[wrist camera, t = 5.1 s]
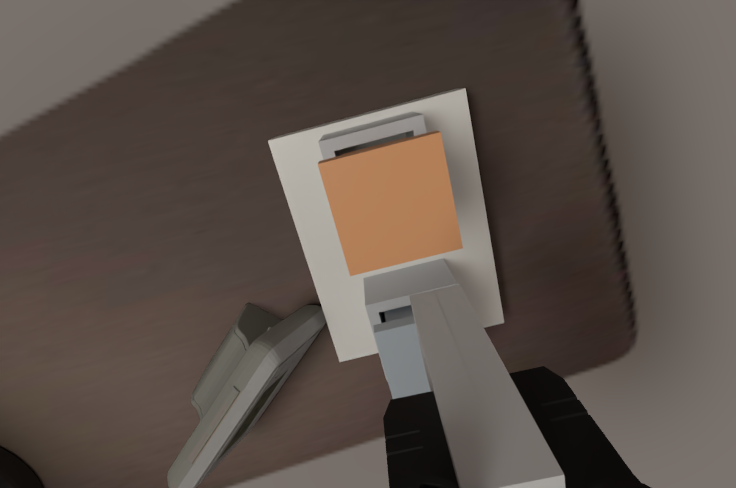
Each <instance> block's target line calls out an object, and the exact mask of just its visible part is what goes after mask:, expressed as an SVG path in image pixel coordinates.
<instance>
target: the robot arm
mask: <svg viewBox="0 0 736 488" xmlns="http://www.w3.org/2000/svg"><path fill="white" fill-rule="evenodd" d="M409 297H410V302H411V307H412V311H413V316H414V320H415V325H416V329H417V334H418V339H419V343H420V348H421V352H422V357H423V362H424V366H425V371H426V375H427V379H428V383H429V387H430V392H425V393H420V394H416V395H411V396H406V397H401V398H396V399H392V400H390V403H389V405H388V408H387V410H386V412H385V415H384V417H383V420H384V431H385V439H386V441H385V442H386V453H387V464H388V476H389V486H390V488H650V487H649V486H647V485H645V484H642V483H641V482H640V481H639V480H638V479H637V478H636V477H635V476H634V475H633V474H632V472H631V470H630V469H629V468H628V466H627V465H626V464H625V462H624V461H623V460H622V458H621V457H620V455H619V454H618V453H617V451H616V450H615V449H614V447H613V446H612V444H611V443H610V442H609V440H608V439H607V438H606V437H605V435H604V434H603V432H602V431H601V429H600V428H599V427H598V425H597V424H596V423H595V421H594V420H593V419H592V417H591V416H590V415H588V413H587V410H586V409H585V408H584V406H583V405H582V403H581V402H580V401H579V400H577V397H576V395H575V394H574V393H573V391H572V390H571V388H570V387H569V386H568V384H567V383H566V382H565V380H564V379H563V378H561V377H560V376H558V375H557V374H555V373H553V372H552V371H550V370H549V369H547V368H546V367H544V366H543V367H538V368H533V369H529V370H524V371H519V372H514V373H508V371H507V370H506V368H505V366H504V364H503V362H502V360H501V359H500V357H499V355H498V353H497V351H496V349H495V348H494V346H493V344H492V342H491V340H490V339H489V337H488V335H487V333H486V331H485V329H484V328H483V326H482V324H481V322H480V320H479V319H478V317H477V315H476V313H475V311H474V309H473V308H472V306H471V304H470V302H469V300H468V298H467V297H466V295H465V293H464V291H463V289H462V288H461V286H460V284H459V285H454V286H450V287H445V288H441V289H436V290H432V291H427V292H422V293H418V294H413V295H409ZM0 488H42V486H41V484H40V482H39V480H38V479H37V477H36V476H35V474H34V473H33V472H32V471H31V470H30V469H29V467H28V466H26V465H25V464H24V463H23V462H22V461H21V460H19V459H18V458H17V457H15V456H14V455H12V454H11V453H9V452H7V451H5V450H4V449H2V448H0Z"/></svg>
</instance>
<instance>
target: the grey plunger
mask: <svg viewBox="0 0 736 488" xmlns="http://www.w3.org/2000/svg"><path fill="white" fill-rule="evenodd" d="M384 312H385V319H386V322H385V323H381V324H376V325H373V326H374V334H375V338H376V341H377V345H378V348H379V352H380V355H381V359H382V362H383V366H384V369H385V373H386V376H387V380H388V383H389V387H390V390H391V394H392V397H393V399H396V398H401V397H406V396H411V395H416V394H420V393H425V392H430V387H429V383H428V379H427V375H426V371H425V366H424V362H423V357H422V352H421V348H420V343H419V339H418V334H417V329H416V325H415V320H414V316H413V311H412V307H411V305H408V306H404V307H400V308H396V309H392V310H387V311H384Z"/></svg>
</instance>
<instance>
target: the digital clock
mask: <svg viewBox="0 0 736 488" xmlns="http://www.w3.org/2000/svg"><path fill="white" fill-rule="evenodd" d="M325 323H326V318H325V315H324V312H323V309H322V307H320V306H317V305H306V306H303V307H302V308H300V309H299V310H297V311H296V312H294V313H293V314H291V315H290V316H288V317H287V318H285V319H284V320H281V319H279V318H277V317H275V316H273V315H271V314H269V313H268V312H266V311H264V310H262V309H260V308H258V307H256V306H255V305H253V304H250V303H247V304H246V305H245V307H244V308H243V310H242V312H241V313H240V315H239V316H238V318H237V320H236V321H235V323H234V324H233V326H232V328H231V329H230V331H229V332H228V334H227V336H226V337H225V339H224V340H223V342H222V344H221V345H220V347H219V348H218V350H217V352H216V353H215V355H214V356H213V358H212V360H211V361H210V363H209V364H208V366H207V368H206V369H205V371H204V373H203V375H202V377H201V378H200V380H199V382H198V384H197V386H196V388H195V390H194V392H193V394H192V397H191V403H192V404H193V406H194V407H195V408H196V409H197V411H198V414H199V418H200V423H199V424H198V426H197V427H196V429H195V430H194V432H193V433H192V435H191V436H190V438H189V440H188V441H187V443H186V444H185V446H184V447H183V449H182V450H181V452H180V453H179V455H178V457H177V458H176V460H175V461H174V463H173V464H172V466H171V468H170V469H169V471H168V474H167V480H168V487H169V488H197V487H198V485H199V484H200V483H201V482H202V481H203V480H204V479H205V478H206V477H207V476H208V475H209V474H210V473H211V472H212V471H213V470H214V469H215V467H216V466H217V465H218V464H219V463H220V462H221V461H222V460H223V459H224V458H225V457H226V456H227V455H228V454H229V453H230V452H231V451H232V449H233V448H234V447H235V446H236V445H237V444H238V443H239V442H240V441H241V440H242V439H243V438H244V437H245V436H246V435H247V434H248V432H249V431H250V430H251V429H252V428H253V427H254V425H255V424H256V422H257V421H258V419H259V418H260V417H261V415H262V414H263V412H264V411H265V410H266V408H267V407H268V405H269V404H270V402H271V401H272V399H273V398H274V397H275V395H276V394H277V392H278V391H279V389H280V388H281V387H282V385H283V384H284V382H285V381H286V379H287V378H288V377H289V375H290V374H291V372H292V371H293V369H294V368H295V367H296V365H297V364H298V362H299V361H300V359H301V358H302V356H303V355H304V354H305V352H306V351H307V349H308V348H309V346H310V345H311V344H312V342H313V341H314V339H315V338H316V336H317V335H318V333H319V332H320V331H321V329H322V328H323V326H324V325H325Z"/></svg>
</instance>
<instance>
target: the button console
mask: <svg viewBox="0 0 736 488" xmlns="http://www.w3.org/2000/svg"><path fill="white" fill-rule="evenodd" d="M436 130H437V131H440V132H441V135H442V141H443V146H444V151H445V157H446V162H447V167H448V172H449V178H450V183H451V188H452V193H453V199H454V204H455V209H456V214H457V220H458V225H459V230H460V235H461V241H462V246H463V248H462V249H458V250H454V251H450V252H446V253H442V254H438V255H434V256H430V257H426V258H422V259H418V260H414V261H410V262H406V263H402V264H398V265H394V266H390V267H386V268H381V269H377V270H373V271H369V272H365V273H361V274H357V275H353V276H350V274H349V270H348V267H347V263H346V260H345V257H344V253H343V250H342V246H341V243H340V239H339V236H338V233H337V229H336V226H335V222H334V219H333V215H332V212H331V209H330V205H329V202H328V198H327V195H326V191H325V188H324V185H323V181H322V178H321V174H320V171H319V167H318V162H319V161H322V160H325V159H329V158H333V157H337V156H341V155H342V154H345V153H349V152H352V151H356V150H360V149H364V148H368V147H371V146H375V145H379V144H383V143H387V142H390V141H394V140H398V139H402V138H406V137H408V138H409V137H413V136H417V135H421V134H425V133H428V132H432V131H436ZM268 143H269V146H270V149H271V152H272V155H273V158H274V161H275V164H276V168H277V171H278V174H279V177H280V180H281V183H282V186H283V189H284V192H285V195H286V198H287V201H288V204H289V208H290V211H291V214H292V217H293V220H294V223H295V226H296V229H297V232H298V235H299V238H300V241H301V244H302V248H303V251H304V254H305V257H306V260H307V263H308V266H309V269H310V272H311V275H312V278H313V281H314V285H315V288H316V291H317V294H318V297H319V300H320V303H321V306H322V309H323V312H324V315H325V318H326V321H327V325H328V328H329V331H330V334H331V337H332V340H333V343H334V346H335V349H336V352H337V355H338V358H339V362H342V361H346V360H350V359H355V358H359V357H363V356H367V355H371V354H376V353H379V356H380V359H381V355H380V352H379V348H378V345H377V341H376V338H375V334H374V326H373V325H376V324H381V323H385V322H386V319H385V312H384V311H387V310H392V309H396V308H400V307H404V306H408V305H411V302H410V297H409V295H413V294H418V293H422V292H427V291H432V290H436V289H441V288H445V287H450V286H454V285H459V284H460V286H461V288H462V289H463V291H464V293H465V295H466V297H467V298H468V300H469V302H470V304H471V306H472V308H473V309H474V311H475V313H476V315H477V317H478V319H479V320H480V322H481V324H482V326H483V328H485V327H489V326H493V325H497V324H501V323H504V318H503V312H502V306H501V300H500V293H499V287H498V281H497V275H496V269H495V263H494V257H493V251H492V245H491V239H490V233H489V227H488V221H487V215H486V209H485V203H484V197H483V191H482V185H481V179H480V173H479V167H478V161H477V154H476V148H475V142H474V136H473V130H472V124H471V118H470V112H469V106H468V100H467V94H466V88H462V89H453V90H450V91H446V92H442V93H438V94H435V95H431V96H427V97H423V98H420V99H416V100H412V101H408V102H405V103H401V104H397V105H393V106H390V107H386V108H382V109H378V110H374V111H371V112H367V113H363V114H359V115H356V116H352V117H348V118H344V119H341V120H337V121H333V122H329V123H326V124H322V125H318V126H314V127H311V128H307V129H303V130H299V131H296V132H292V133H288V134H284V135H281V136H277V137H274V138H272V139H270V140H269V141H268ZM381 363H382V366H383V362H382V359H381ZM383 370H384V373H385V369H384V366H383ZM385 377H386V380H387V376H386V373H385ZM387 381H388V380H387Z"/></svg>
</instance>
